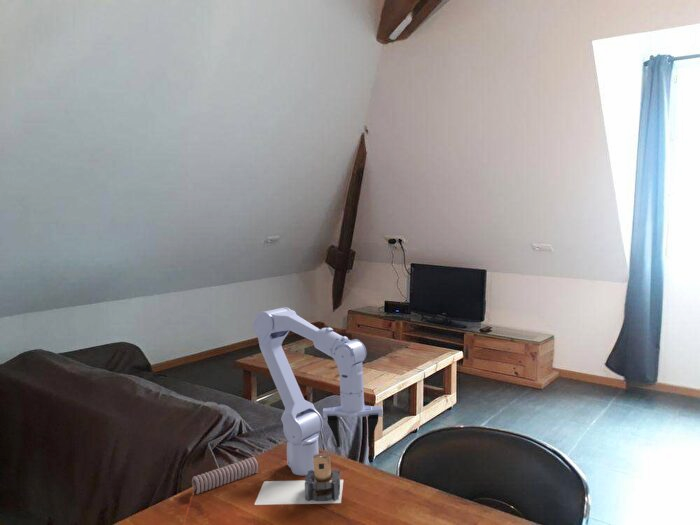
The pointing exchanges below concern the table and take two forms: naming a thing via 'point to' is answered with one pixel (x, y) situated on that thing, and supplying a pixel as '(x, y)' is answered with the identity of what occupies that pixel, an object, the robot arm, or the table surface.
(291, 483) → the base board
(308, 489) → the collar stand
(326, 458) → the tube
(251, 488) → the table surface
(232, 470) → the coil
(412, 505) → the table surface
